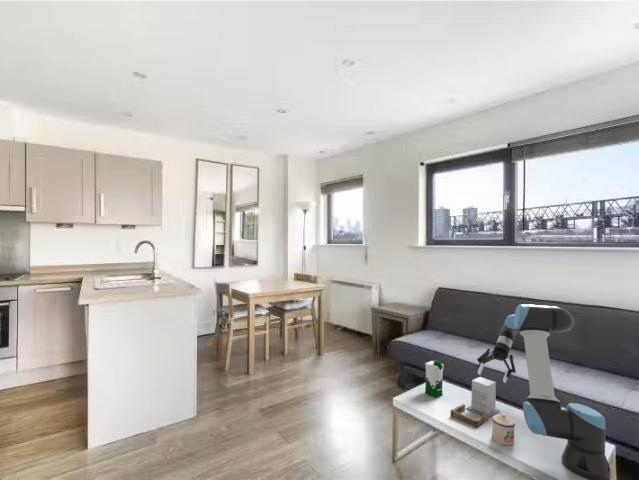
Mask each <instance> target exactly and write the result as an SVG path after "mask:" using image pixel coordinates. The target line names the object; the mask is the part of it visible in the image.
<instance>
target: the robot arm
mask: <svg viewBox="0 0 639 480" xmlns="http://www.w3.org/2000/svg"><path fill="white" fill-rule="evenodd" d="M515 308H516V309H515V311H514V314H509V315H508V316H507V317H506V318H505V320H504V323H503V325H502V328H501V330H500V333H499V335H498V338H497V340H496V343H495V345H494V349H493V350H491V349H490V348H487V350H486V351H485V352H484V353H482V355H480V356H479V357H478V358H477V359H476V361H477V362H478V365H477V367H478V370H477V374H478V375H479V376H481V375H482V372H483V369H484V367H485V365H484V364H487V363H488V362H490V361H494V360H496V361H500V362H503V363H504V364H505V366H506V368H507V369H506V371H505V373H504V375H503V378H502V381H503V383H504V384H507V381H508V379H510V377H511V375H512V374H513V373H514V374H516V373H517V371H516V366H515V362H514V360H515V358H514V355H513V354H509V353H510V351H511V348H512V345H513V343H514V340H515V338H516V336H517V333H518V332H519V335H520V336H521V337H523V340H524V348H525V359H526V365H527V367H526V369H527V374H528V384H529V392H530V393H529V395H528V396H527V397H526V401H523V403H522V411H523V416H524V420H525V423H526V426H527V428H528V430H529V431H531V433H533V434H535V435H539V436H543V437H550V438H554V439H555V438H557V439H562V440H567V442H566V445H565V447H564V449H563V452H562V454H561V462H562V464H563V465H564V466H565V468H567V469H568V470H569V471H571V472H572V473H574V474H576V475H577V476H579V477H583V478H585V479H588V480H611V478H612V470H611V467H610V464H609V462H608V459H607V456H606V430H607V427H606V419H605V417H604V416H603V415H602V414H601V413H600V412H599V411H597V410H595V409H593V408H591V407H590V406H587V405H583V404H580V403H576V402H570V403H569V402H568V404H567V405H566V407H564V406H561V401H560V400H559V399H558V398H557V397H556V396H555V390H554V389H555V388H554V381H553V376H552V375H553V374H552V369H551V367H552V366H551V362H550V361H551V359H550V355H549V348H548V340H547V338H549V336H550V335H551V333H565V332H569V331H571V330H572V329H573V328H574V325H575V318H574V317H573V315H572V314H571V313H570V312H569V311H568V310H566V309H564V308H562V307H559V306H555V305H540V304H539V305H538V304H530V303H529V304H525V303H524V304H518V305H517V307H515ZM506 359H509V361H510V365H509V364H508V361H507V360H506ZM510 366H511V367H510Z"/></svg>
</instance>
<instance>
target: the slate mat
mask: <svg viewBox="0 0 639 480" xmlns="http://www.w3.org/2000/svg"><path fill="white" fill-rule="evenodd" d="M471 406H472V404H470V405H469V406H467V407H465V410H468V411H471V412H473V413H475V414H478V415H480V416H483V415H484V414H485V413H482V412H480V411H477V410H475V409H473V408H471ZM500 411H501V410H499V409H498V408H496V410H495V411H493V412H491V413H490V414H489V416H488V419H492V417H493V416H494V415H498V413H500Z"/></svg>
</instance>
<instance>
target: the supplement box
mask: <svg viewBox="0 0 639 480" xmlns="http://www.w3.org/2000/svg"><path fill="white" fill-rule="evenodd" d="M496 386H497V383H496V381H494V380H491V379H487V378H485V377H482V376H479V377H476V378H474V379H472V380H471V405H472V406H471V408H473V409H475V410H477V411H480V412H482V413H485V414H490V413H491V412H493V411H495V410H496V409H497V407H496V406H497V405H496V404H497V403H496V394H497V391H496V388H497V387H496Z"/></svg>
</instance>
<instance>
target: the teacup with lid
mask: <svg viewBox="0 0 639 480" xmlns="http://www.w3.org/2000/svg"><path fill="white" fill-rule="evenodd" d="M491 421H492V427H491V428H492V430H491V437H492V439H493V441H495V442H496V443H498V444H500V445H503V446H507V447H508V446H509V447H511V446H513V445H514V444H515V426H516V422H515V421H514V420H513V419H512V418H511V417H508V416H507V415H506V413H504V412H503V413H500V414H495V415H494V416H492V417H491Z"/></svg>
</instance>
